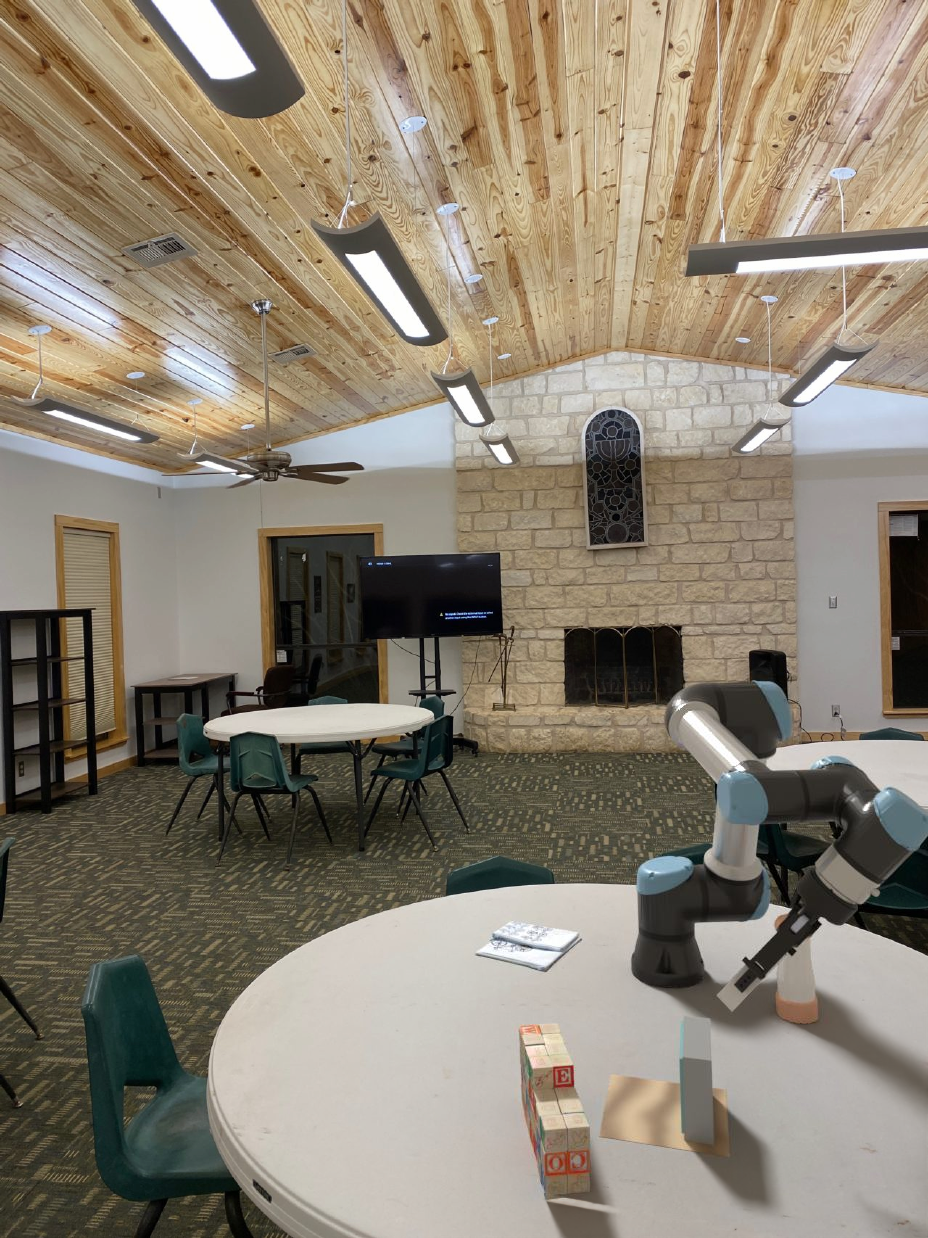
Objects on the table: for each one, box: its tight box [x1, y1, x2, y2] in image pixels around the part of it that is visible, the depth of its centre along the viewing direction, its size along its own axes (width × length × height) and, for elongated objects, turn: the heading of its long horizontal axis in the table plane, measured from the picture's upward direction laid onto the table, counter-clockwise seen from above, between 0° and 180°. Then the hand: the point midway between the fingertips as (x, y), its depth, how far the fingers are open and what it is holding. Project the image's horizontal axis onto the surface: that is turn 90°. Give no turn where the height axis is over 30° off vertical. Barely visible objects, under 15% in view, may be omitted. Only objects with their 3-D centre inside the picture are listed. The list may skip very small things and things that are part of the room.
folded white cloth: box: [474, 920, 582, 972], centre depth 182 cm, size 19×20×2 cm
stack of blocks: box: [518, 1022, 591, 1200], centre depth 114 cm, size 21×6×12 cm, turn 4°
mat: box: [598, 1073, 731, 1158], centre depth 119 cm, size 18×16×1 cm
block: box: [678, 1015, 714, 1145], centre depth 118 cm, size 4×12×12 cm, turn 163°
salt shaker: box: [773, 913, 819, 1025], centre depth 148 cm, size 7×7×19 cm
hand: (738, 989), depth 114 cm, fingers open, 13 cm apart
